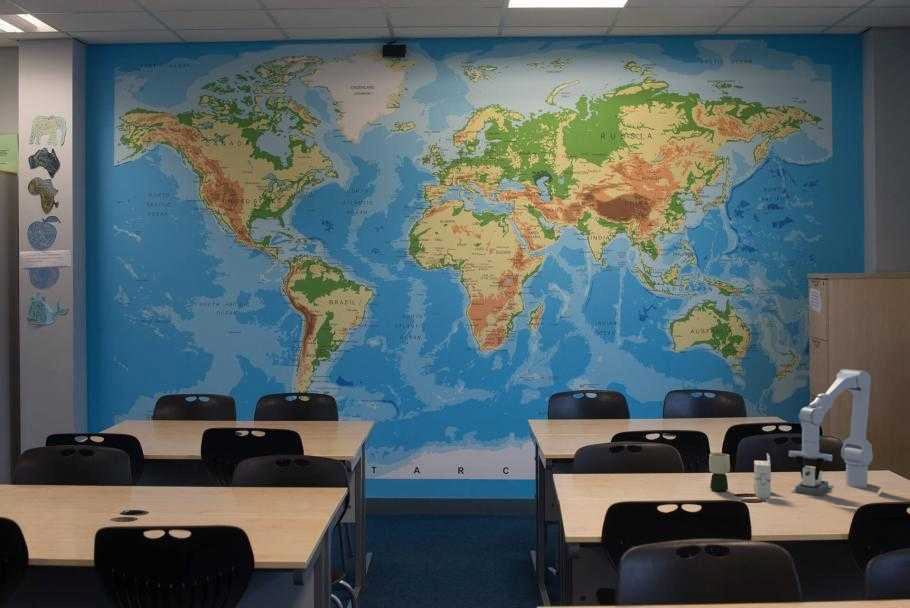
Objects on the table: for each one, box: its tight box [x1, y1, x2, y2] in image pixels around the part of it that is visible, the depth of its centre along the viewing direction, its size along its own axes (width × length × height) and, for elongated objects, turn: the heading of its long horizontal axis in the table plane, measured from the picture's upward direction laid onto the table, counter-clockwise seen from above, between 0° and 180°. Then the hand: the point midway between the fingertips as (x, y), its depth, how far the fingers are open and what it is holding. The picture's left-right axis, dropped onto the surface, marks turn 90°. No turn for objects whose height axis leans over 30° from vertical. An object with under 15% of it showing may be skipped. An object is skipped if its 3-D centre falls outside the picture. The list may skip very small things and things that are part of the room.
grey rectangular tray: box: [790, 480, 835, 498], centre depth 329 cm, size 20×11×3 cm, turn 147°
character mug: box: [708, 452, 731, 492], centre depth 331 cm, size 11×7×13 cm, turn 23°
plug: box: [801, 465, 817, 486], centre depth 323 cm, size 7×4×6 cm, turn 147°
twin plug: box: [817, 470, 823, 485], centre depth 332 cm, size 7×4×6 cm, turn 147°
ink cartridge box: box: [753, 452, 772, 499], centre depth 323 cm, size 9×5×15 cm, turn 168°
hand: (809, 478), depth 325 cm, fingers closed on plug, 4 cm apart
